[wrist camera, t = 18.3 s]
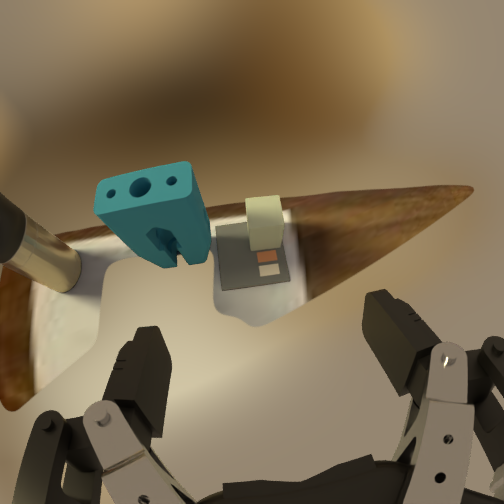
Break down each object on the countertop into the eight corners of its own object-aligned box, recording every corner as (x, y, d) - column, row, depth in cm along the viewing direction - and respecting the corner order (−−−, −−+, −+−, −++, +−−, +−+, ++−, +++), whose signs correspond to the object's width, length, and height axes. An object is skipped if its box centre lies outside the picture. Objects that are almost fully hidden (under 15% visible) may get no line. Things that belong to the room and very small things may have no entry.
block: (215, 234, 48) (191, 159, 30) (217, 261, 47) (192, 196, 28) (150, 244, 48) (98, 180, 29) (150, 270, 46) (92, 216, 28)
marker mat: (222, 290, 45) (222, 290, 44) (215, 226, 49) (215, 226, 49) (289, 281, 45) (289, 280, 45) (277, 218, 49) (277, 217, 49)
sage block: (250, 251, 47) (249, 228, 39) (247, 224, 49) (245, 198, 41) (280, 247, 47) (284, 224, 39) (275, 221, 49) (278, 195, 41)
